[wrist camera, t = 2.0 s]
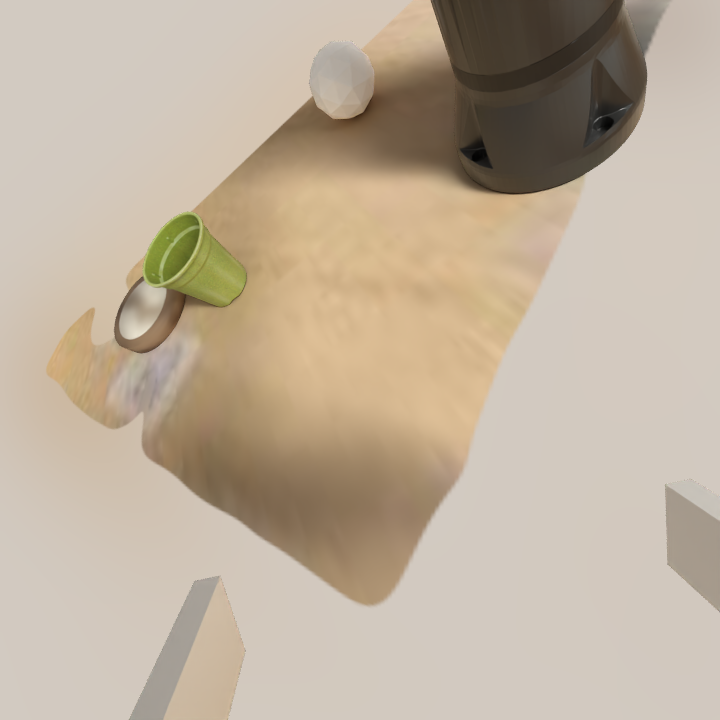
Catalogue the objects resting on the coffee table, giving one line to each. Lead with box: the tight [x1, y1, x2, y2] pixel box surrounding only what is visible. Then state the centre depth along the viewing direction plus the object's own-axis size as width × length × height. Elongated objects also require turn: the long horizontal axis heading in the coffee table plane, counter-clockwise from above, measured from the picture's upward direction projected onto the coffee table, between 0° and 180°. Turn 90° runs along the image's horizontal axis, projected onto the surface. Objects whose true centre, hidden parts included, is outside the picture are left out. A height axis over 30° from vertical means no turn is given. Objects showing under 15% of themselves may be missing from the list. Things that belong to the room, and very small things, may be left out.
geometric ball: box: [309, 41, 374, 119], centre depth 48 cm, size 8×8×8 cm
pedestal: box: [114, 277, 185, 353], centre depth 57 cm, size 12×12×2 cm
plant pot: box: [143, 212, 246, 307], centre depth 48 cm, size 9×9×9 cm
